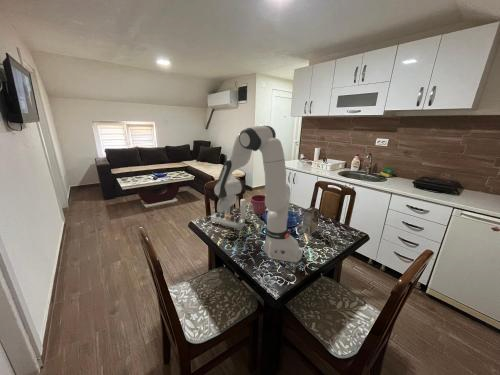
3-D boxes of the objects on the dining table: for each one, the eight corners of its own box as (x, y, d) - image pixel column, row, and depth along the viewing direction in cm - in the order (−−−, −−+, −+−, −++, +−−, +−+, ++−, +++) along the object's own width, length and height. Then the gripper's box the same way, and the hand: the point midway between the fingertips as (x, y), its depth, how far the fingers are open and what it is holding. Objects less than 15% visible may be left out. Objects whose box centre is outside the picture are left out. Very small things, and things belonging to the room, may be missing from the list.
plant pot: (256, 217, 161) (256, 202, 157) (247, 211, 172) (247, 196, 168) (271, 214, 167) (272, 199, 163) (262, 207, 179) (262, 193, 175)
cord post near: (247, 219, 159) (247, 199, 154) (244, 221, 155) (244, 201, 150) (242, 217, 160) (241, 198, 155) (239, 220, 157) (239, 200, 152)
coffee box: (309, 227, 148) (311, 206, 143) (317, 230, 143) (319, 209, 138) (301, 231, 142) (303, 209, 137) (309, 235, 137) (312, 213, 132)
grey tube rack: (245, 225, 149) (245, 217, 147) (240, 230, 143) (240, 221, 140) (216, 218, 160) (215, 210, 157) (210, 222, 153) (209, 214, 151)
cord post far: (231, 215, 164) (230, 196, 159) (228, 217, 161) (227, 198, 155) (226, 214, 166) (225, 195, 161) (223, 216, 162) (222, 197, 157)
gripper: (222, 200, 134) (223, 220, 138) (237, 191, 151) (238, 208, 156) (214, 199, 136) (215, 218, 141) (230, 190, 154) (230, 207, 158)
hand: (227, 213), depth 148 cm, fingers closed
